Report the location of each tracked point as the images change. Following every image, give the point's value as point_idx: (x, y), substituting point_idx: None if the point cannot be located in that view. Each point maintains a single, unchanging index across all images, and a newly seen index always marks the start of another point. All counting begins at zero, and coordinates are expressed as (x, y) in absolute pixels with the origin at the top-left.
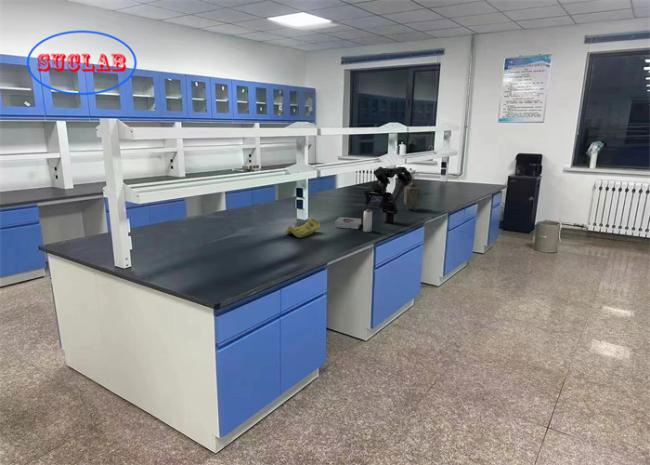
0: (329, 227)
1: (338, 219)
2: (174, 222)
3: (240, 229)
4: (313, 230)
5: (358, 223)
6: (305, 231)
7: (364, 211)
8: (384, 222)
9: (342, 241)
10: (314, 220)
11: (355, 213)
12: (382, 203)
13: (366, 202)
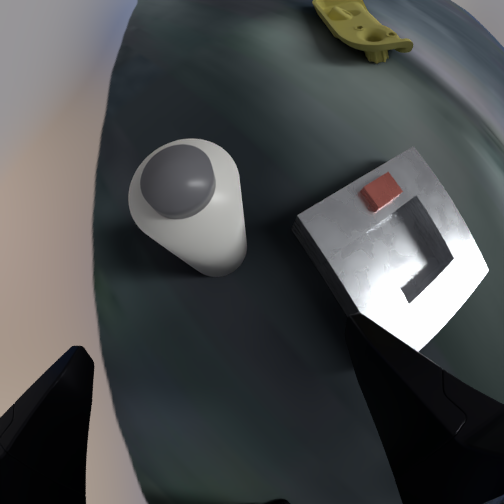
0: (408, 146)
1: (453, 212)
2: (498, 43)
3: (445, 29)
4: (329, 25)
5: (314, 244)
6: (345, 23)
7: (223, 160)
8: (282, 500)
9: (183, 45)
10: (396, 41)
11: None
12: (29, 402)
13: (386, 344)
